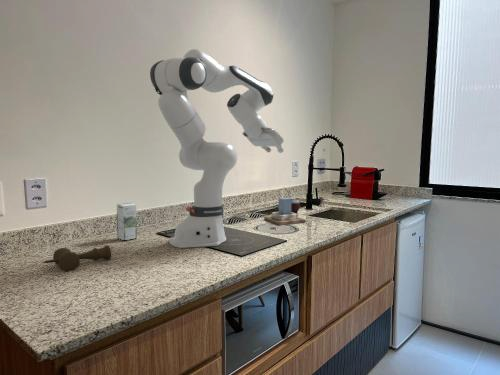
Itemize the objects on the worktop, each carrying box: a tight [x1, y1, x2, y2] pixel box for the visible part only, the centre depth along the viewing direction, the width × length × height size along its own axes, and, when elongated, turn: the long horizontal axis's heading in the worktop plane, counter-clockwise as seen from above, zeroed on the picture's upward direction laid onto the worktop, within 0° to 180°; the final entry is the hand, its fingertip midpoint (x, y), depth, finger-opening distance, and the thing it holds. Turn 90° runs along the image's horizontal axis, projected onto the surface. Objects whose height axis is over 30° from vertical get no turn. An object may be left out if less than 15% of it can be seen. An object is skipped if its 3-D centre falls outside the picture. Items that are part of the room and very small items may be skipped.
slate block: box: [278, 197, 292, 215], centre depth 188 cm, size 4×4×10 cm
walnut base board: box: [263, 211, 307, 226], centre depth 189 cm, size 15×15×4 cm
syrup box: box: [116, 202, 138, 241], centre depth 152 cm, size 6×6×14 cm
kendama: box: [42, 244, 112, 273], centre depth 121 cm, size 6×10×20 cm
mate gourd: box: [283, 186, 301, 214], centre depth 207 cm, size 8×8×15 cm
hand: (275, 151), depth 165 cm, fingers open, 8 cm apart
